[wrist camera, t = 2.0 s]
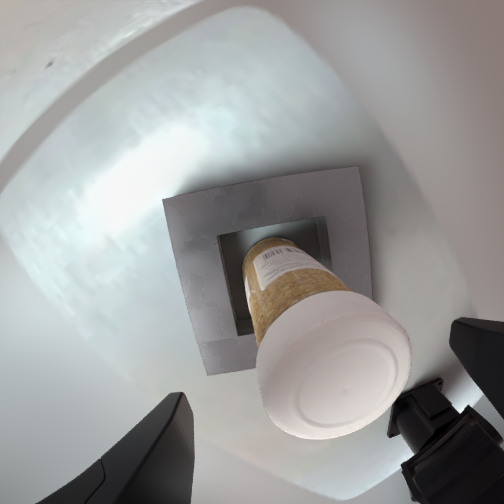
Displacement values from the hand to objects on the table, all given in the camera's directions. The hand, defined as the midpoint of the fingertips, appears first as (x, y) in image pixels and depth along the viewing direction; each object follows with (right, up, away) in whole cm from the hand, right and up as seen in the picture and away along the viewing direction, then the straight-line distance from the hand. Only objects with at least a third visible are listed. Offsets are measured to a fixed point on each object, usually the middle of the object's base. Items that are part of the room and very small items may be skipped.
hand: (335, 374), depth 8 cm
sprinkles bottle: (-1, +3, +12) cm, 13 cm away
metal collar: (-1, +2, +12) cm, 12 cm away
